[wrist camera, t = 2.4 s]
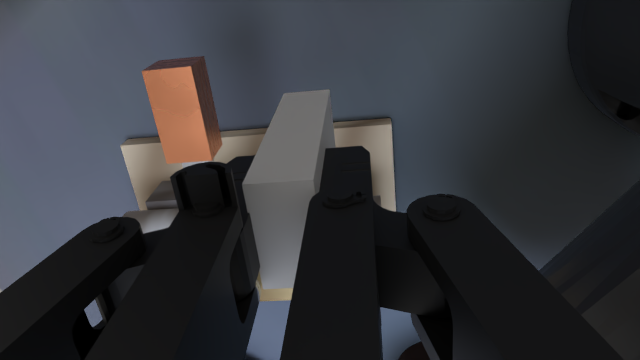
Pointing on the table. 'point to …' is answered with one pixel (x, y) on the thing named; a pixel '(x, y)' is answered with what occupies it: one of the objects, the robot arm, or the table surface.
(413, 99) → the table surface
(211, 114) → the lever
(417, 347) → the coffee mug
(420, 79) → the table surface
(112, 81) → the table surface
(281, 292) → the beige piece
